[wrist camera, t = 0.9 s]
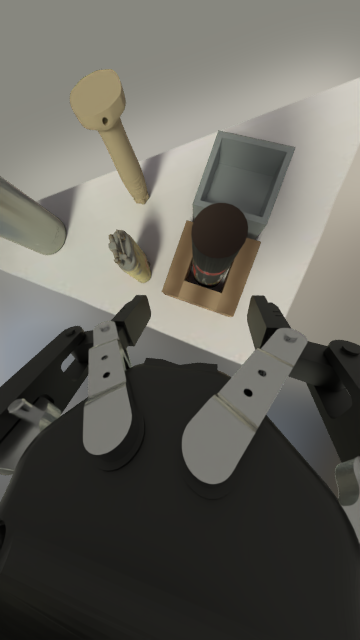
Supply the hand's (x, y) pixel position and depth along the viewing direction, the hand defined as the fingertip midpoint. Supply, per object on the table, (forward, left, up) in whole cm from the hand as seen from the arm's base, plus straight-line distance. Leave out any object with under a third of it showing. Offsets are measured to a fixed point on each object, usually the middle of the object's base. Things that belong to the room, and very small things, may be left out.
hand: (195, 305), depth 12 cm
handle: (-19, +20, -20) cm, 34 cm away
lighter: (-14, +6, -20) cm, 25 cm away
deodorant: (0, +9, -20) cm, 22 cm away
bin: (0, +24, -19) cm, 31 cm away
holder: (0, +9, -19) cm, 21 cm away
